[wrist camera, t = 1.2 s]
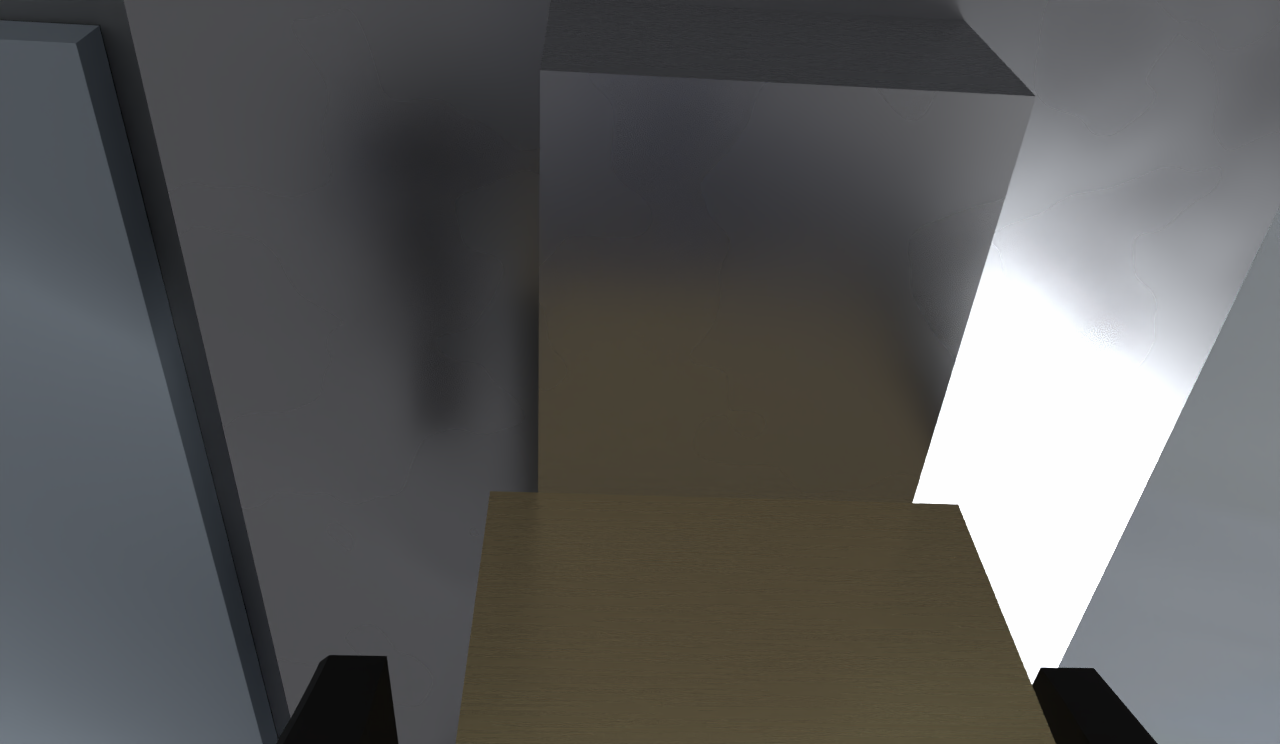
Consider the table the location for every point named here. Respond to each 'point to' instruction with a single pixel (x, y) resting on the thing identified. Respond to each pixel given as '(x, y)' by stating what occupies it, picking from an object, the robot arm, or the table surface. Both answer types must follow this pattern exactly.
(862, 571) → the collar
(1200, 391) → the table surface
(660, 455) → the vise
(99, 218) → the mat
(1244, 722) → the table surface
